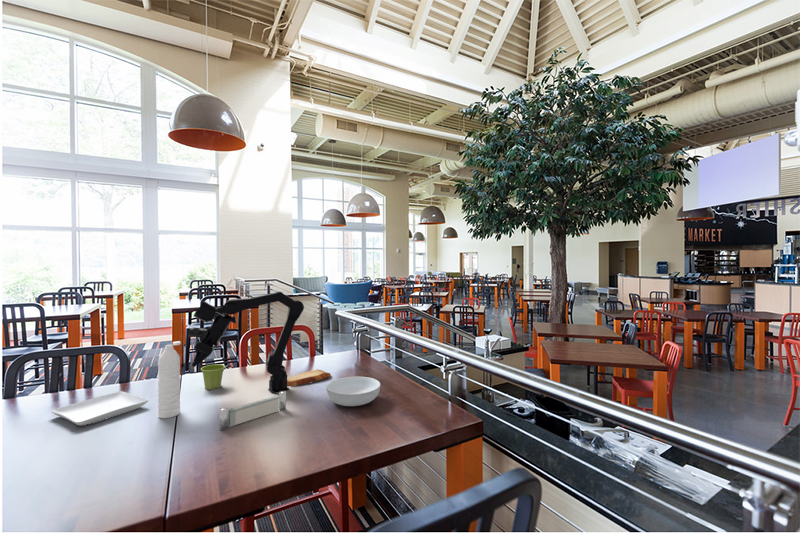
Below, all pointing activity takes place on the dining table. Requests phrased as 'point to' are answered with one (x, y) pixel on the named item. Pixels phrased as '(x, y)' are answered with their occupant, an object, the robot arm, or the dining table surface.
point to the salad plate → (100, 408)
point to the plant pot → (213, 375)
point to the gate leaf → (253, 410)
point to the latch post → (223, 418)
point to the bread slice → (307, 377)
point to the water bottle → (169, 382)
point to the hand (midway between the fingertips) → (195, 363)
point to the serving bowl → (353, 390)
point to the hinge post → (282, 400)
